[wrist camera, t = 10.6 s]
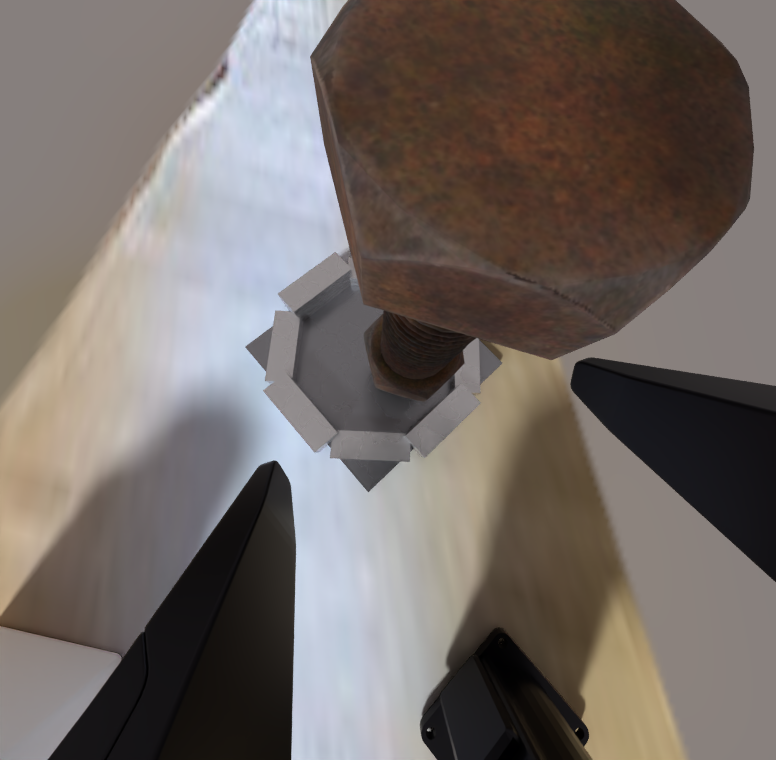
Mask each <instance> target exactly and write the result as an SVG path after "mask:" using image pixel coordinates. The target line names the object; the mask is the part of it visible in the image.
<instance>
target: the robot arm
mask: <svg viewBox="0 0 776 760" xmlns="http://www.w3.org/2000/svg"><path fill="white" fill-rule="evenodd" d="M570 385H571V389H572V391H573V392H574V393H575V394H576V395H577V396H578V397H579V399H580V400H581V401H582V402H583V403H584V404H585V405H586V406H587V407H588V408H589V409H590V411H591V412H592V413H593V414H594V415H595V416H596V417H597V418H598V419H599V420H600V421H601V422H602V424H603V425H604V426H605V427H606V428H607V429H608V430H609V431H610V432H611V433H612V434H613V435H615V436H616V437H617V438H618V439H619V440H620V441H621V442H622V443H623V444H624V445H625V446H627V447H628V448H629V449H630V450H631V451H632V452H633V453H634V454H635V455H636V456H638V457H639V458H640V459H641V460H642V461H643V462H644V463H645V464H646V465H648V466H649V467H650V468H651V469H652V470H653V471H654V472H655V473H656V474H657V475H659V476H660V477H661V478H662V479H663V480H664V481H665V482H666V483H667V484H668V485H669V486H671V487H672V488H673V489H674V490H675V491H676V492H677V493H678V494H679V495H680V496H682V497H683V498H684V499H685V500H686V501H687V502H688V503H689V504H690V505H691V506H693V507H694V508H695V509H696V510H697V511H698V512H699V513H700V514H701V515H702V516H704V517H705V518H706V519H707V520H708V521H709V522H710V523H711V524H712V525H713V526H715V527H716V528H717V529H718V530H719V531H720V532H721V533H722V534H723V535H724V536H725V537H727V538H728V539H729V540H730V541H731V542H732V543H733V544H734V545H736V547H738V548H739V549H740V550H741V551H742V552H743V553H744V554H745V555H746V556H747V557H749V558H750V559H751V560H752V561H753V562H754V563H755V564H756V565H757V566H759V567H760V568H761V569H762V570H763V571H764V572H765V573H766V574H767V575H768V576H769V577H771V578H772V579H773V580H774V581H775V582H776V386H772V385H765V384H758V383H753V382H746V381H740V380H733V379H727V378H720V377H714V376H708V375H701V374H695V373H688V372H682V371H676V370H669V369H662V368H656V367H650V366H644V365H637V364H631V363H624V362H618V361H612V360H605V359H599V358H586V359H583V360H581V361H578V362H577V363H576V364H575V366H574V370H573V374H572V379H571V384H570ZM295 569H296V539H295V527H294V516H293V505H292V494H291V485H290V482H289V479H288V477H287V476H286V474H285V473H284V471H283V469H282V468H281V466H280V464H279V463H278V462H277V461H270V462H267V463H264V464H262V465H260V466H259V467H258V468H257V469H256V471H255V472H254V474H253V475H252V476H251V478H250V479H249V481H248V482H247V483H246V485H245V486H244V488H243V489H242V491H241V492H240V493H239V495H238V496H237V498H236V499H235V500H234V502H233V503H232V505H231V506H230V508H229V509H228V510H227V512H226V513H225V515H224V516H223V517H222V519H221V520H220V522H219V523H218V525H217V526H216V527H215V529H214V530H213V532H212V533H211V534H210V536H209V537H208V539H207V540H206V542H205V543H204V544H203V546H202V547H201V549H200V550H199V551H198V553H197V554H196V556H195V557H194V559H193V560H192V561H191V563H190V564H189V566H188V567H187V568H186V570H185V571H184V573H183V574H182V576H181V577H180V578H179V580H178V581H177V583H176V584H175V585H174V587H173V588H172V590H171V591H170V593H169V594H168V595H167V597H166V598H165V600H164V601H163V602H162V604H161V605H160V607H159V608H158V610H157V611H156V612H155V614H154V615H153V617H152V618H151V619H150V621H149V622H148V624H147V625H146V627H145V632H142V633H141V634H140V635H139V636H138V638H137V639H136V640H135V642H134V643H133V645H132V646H131V647H130V649H129V650H128V652H127V653H126V655H125V656H124V657H123V659H122V660H121V662H120V663H119V664H118V666H117V667H116V669H115V670H114V671H113V673H112V674H111V675H110V677H109V678H108V680H107V681H106V682H105V684H104V685H103V686H102V688H101V689H100V691H99V692H98V693H97V695H96V696H95V697H94V699H93V700H92V702H91V703H90V704H89V706H88V707H87V708H86V710H85V711H84V712H83V714H82V715H81V716H80V718H79V719H78V720H77V722H76V723H75V724H74V726H73V727H72V728H71V729H70V731H69V732H68V733H67V735H66V736H65V737H64V739H63V740H62V741H61V743H60V744H59V745H58V747H57V748H56V749H55V750H54V752H53V753H52V754H51V756H50V757H49V758H48V760H291V744H292V701H293V657H294V613H295ZM501 638H504V641H503V642H502V643H501V644H498V641H499V639H501ZM429 727H433V730H432V731H427V729H428V728H429ZM577 728H578V730H577V731H576V732H575V730H576V729H577ZM420 730H421V736H422V740H423V741H424V743H425V744H426V746H427V747H428V748H429V750H430V751H431V752H432V753H433V755H434V756H435V757H436V759H437V760H593V759H592V758H591V757H590V755H589V754H588V752H587V751H586V749H585V748H584V746H585V745H586V743H587V741H588V739H589V732H588V729H587V727H586V725H585V724H584V723H583V721H582V720H581V719H580V717H579V716H578V715H577V714H576V713H575V712H574V710H573V709H572V708H571V707H570V706H569V705H568V703H567V702H566V701H565V700H564V699H563V698H562V696H561V695H560V694H559V693H558V692H557V691H556V689H555V688H554V687H553V686H552V685H551V684H550V682H549V681H548V680H547V679H546V678H545V677H544V675H543V674H542V673H541V672H540V671H539V670H538V668H537V667H536V666H535V665H534V664H533V663H532V661H531V660H530V659H529V658H528V657H527V656H526V654H525V653H524V652H523V651H522V650H521V649H520V647H519V646H518V645H517V644H516V643H515V642H514V640H513V639H512V638H511V637H510V636H509V635H508V633H507V632H506V631H505V630H504V629H502V628H496V629H494V630H493V631H492V633H491V634H490V635H489V636H488V637H487V639H486V640H485V641H484V642H483V644H482V645H481V646H480V647H479V648H478V650H477V651H476V652H475V653H474V655H472V656H471V657H470V658H469V659H468V660H467V661H466V663H465V664H464V665H463V666H462V668H461V669H460V670H459V671H458V673H457V674H456V675H455V676H454V677H453V679H452V680H451V681H450V682H449V684H448V685H447V686H446V687H445V688H444V690H443V691H442V692H441V695H440V696H439V698H438V699H437V700H436V701H435V702H434V704H433V705H432V706H431V707H430V709H429V710H428V711H427V712H426V714H425V715H424V716H423V717H422V719H421V722H420Z"/></svg>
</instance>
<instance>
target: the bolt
mask: <svg viewBox="0 0 776 760" xmlns="http://www.w3.org/2000/svg"><path fill="white" fill-rule="evenodd" d="M310 58H311V64H312V71H313V77H314V83H315V89H316V96H317V102H318V108H319V115H320V121H321V127H322V134H323V140H324V146H325V150H326V154H327V158H328V162H329V166H330V170H331V174H332V178H333V182H334V186H335V190H336V195H337V199H338V203H339V207H340V211H341V215H342V219H343V223H344V227H345V231H346V235H347V239H348V243H349V248H350V252H351V256H352V260H353V264H354V268H355V272H356V276H357V280H358V284H359V288H360V292H361V297H362V301H363V304H364V305H367V306H371V307H374V308H377V309H381V310H383V314H382V315H381V316H380V317H379V318H378V319H377V320H376V321H374V322H373V323H372V325H371V326H370V327H369V328H368V329H367V330H366V331H365V332H364V343H365V347H366V352H367V356H368V361H369V365H370V369H371V373H372V377H373V381H374V384H375V388H377V389H380V390H383V391H386V392H388V393H392V394H395V395H398V396H401V397H405V398H409V399H413V400H417V401H421V402H424V401H426V400H428V399H429V398H430V397H431V396H432V395H433V394H434V393H435V392H437V391H438V390H439V389H440V388H441V387H442V386H443V385H444V384H445V383H446V382H447V381H448V380H449V379H450V378H451V377H452V376H453V375H454V374H455V373H456V372H457V371H458V370H459V369H460V368H461V367H462V366H463V365H464V363H465V362H464V355H463V350H464V349H465V348H466V347H467V345H468V344H469V343H471V342H472V341H473V340H475V339H476V338H479V339H482V340H485V341H489V342H492V343H495V344H499V345H502V346H506V347H509V348H512V349H516V350H519V351H522V352H526V353H529V354H533V355H536V356H539V357H543V358H546V359H549V360H553V359H555V358H558V357H560V356H563V355H565V354H567V353H570V352H572V351H575V350H577V349H579V348H582V347H584V346H587V345H589V344H592V343H594V342H597V341H599V340H601V339H604V338H607V337H609V336H611V335H614V334H616V333H617V332H618V331H619V330H621V329H622V328H623V327H624V326H625V325H627V324H628V323H629V322H630V321H632V320H633V319H634V318H635V317H637V316H638V315H639V314H640V313H641V312H642V311H644V310H645V309H646V308H647V307H649V306H650V305H651V304H652V303H654V302H655V301H656V300H657V299H658V298H660V297H661V296H662V295H663V294H665V293H666V292H667V291H668V290H669V289H671V288H672V287H673V286H674V285H675V284H676V283H677V282H678V281H679V280H680V279H681V278H682V277H684V276H685V275H686V274H687V273H688V272H689V271H690V270H691V269H692V268H693V267H694V266H695V265H696V264H697V263H699V262H700V261H701V260H702V259H703V258H704V257H705V256H706V255H707V254H708V253H709V252H710V251H711V250H712V249H713V248H714V246H715V245H716V244H717V243H718V242H719V240H721V238H722V237H723V236H724V235H725V234H726V233H727V231H728V230H729V229H730V228H731V227H732V225H733V224H734V223H735V221H736V220H737V219H738V218H739V216H740V215H741V214H742V212H743V211H744V210H745V209H746V206H747V204H748V202H749V199H750V190H751V178H752V166H753V153H754V144H753V134H752V133H753V132H752V121H751V109H750V97H749V87H748V84H747V82H746V80H745V77H744V75H743V73H742V71H741V68H740V66H739V64H738V62H737V60H736V59H735V58H734V56H733V55H732V54H731V53H730V52H729V51H728V50H727V49H726V47H725V46H724V45H723V44H722V43H721V42H720V41H719V40H718V39H717V38H716V37H715V36H714V35H713V34H712V33H710V32H709V31H708V30H707V29H706V28H705V27H704V26H703V25H702V24H701V23H700V22H699V21H697V20H696V19H695V18H694V17H693V16H692V15H691V14H690V13H689V12H688V11H687V10H686V9H684V8H683V7H682V6H681V5H680V4H679V3H678V2H677V1H676V0H348V1H347V2H346V3H345V5H344V6H343V7H342V9H341V10H340V12H339V13H338V15H337V16H336V18H335V19H334V21H333V23H332V24H331V26H330V27H329V29H328V30H327V32H326V33H325V35H324V36H323V38H322V39H321V41H320V42H319V44H318V45H317V47H316V48H315V50H314V51H313V53H312V54H311V56H310Z"/></svg>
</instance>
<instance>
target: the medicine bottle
mask: <svg viewBox="0 0 776 760" xmlns="http://www.w3.org/2000/svg"><path fill="white" fill-rule="evenodd" d="M120 662H121V656H120V655H119V654H118V653H113V652H109V651H105V650H101V649H96V648H92V647H88V646H83V645H79V644H75V643H71V642H66V641H62V640H58V639H53V638H49V637H45V636H41V635H36V634H32V633H28V632H23V631H19V630H15V629H10V628H6V627H2V626H0V760H48V758H49V757H50V756H51V754H52V753H53V752H54V750H55V749H56V748H57V747H58V745H59V744H60V743H61V741H62V740H63V739H64V737H65V736H66V735H67V733H68V732H69V731H70V729H71V728H72V727H73V726H74V724H75V723H76V722H77V720H78V719H79V718H80V716H81V715H82V714H83V712H84V711H85V710H86V708H87V707H88V706H89V704H90V703H91V702H92V700H93V699H94V697H95V696H96V695H97V693H98V692H99V691H100V689H101V688H102V686H103V685H104V684H105V682H106V681H107V680H108V678H109V677H110V675H111V674H112V673H113V671H114V670H115V669H116V667H117V666H118V664H119V663H120Z"/></svg>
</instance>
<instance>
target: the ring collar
mask: <svg viewBox="0 0 776 760" xmlns="http://www.w3.org/2000/svg"><path fill="white" fill-rule="evenodd" d="M278 295H279V297H280V298H281V300H282V301H283V303H284V304H285V306H286V307H287V308H288V309H289V310H290V311H275V317H274V324H273V327H271V328H270V329H269V330H267V331H266V332H265V333H263V334H262V335H261V336H259V337H258V338H257V339H255V340H254V341H252V342H251V343H250V344H248V345H247V346H246V348H247V350H248V351H249V352H250V353H251V354H252V355H253V357H254V358H255V359H256V360H257V361H258V363H259V364H260V365H261V366H262V367H263V368H264V370H265V371H266V377H265V381H266V382H268V383H271V385H270V386H268V387H267V388H266V389H265V390H263V391H264V392H265V394H266V395H267V396H268V397H269V398H270V400H271V401H272V402H273V403H274V404H275V406H276V407H277V408H278V409H279V410H280V412H281V413H282V414H283V415H284V416H285V418H286V419H287V420H288V421H289V422H290V424H291V425H292V426H293V427H294V428H295V430H296V431H297V432H298V433H299V434H300V436H301V437H302V438H303V439H304V440H305V442H306V443H307V444H308V445H309V446H310V447H311V449H312V450H313V451H314V452H320V451H321V450H322V449H324V448H325V447H326V446H327V445H329V446H330V448H331V453H330V458H339V459H341V461H342V462H343V463H344V464H345V465H346V466H347V468H348V469H349V470H350V471H351V472H352V474H353V475H354V476H355V477H356V478H357V479H358V481H359V482H360V483H361V484H362V485H363V487H364V488H365V489H366V490H367V491H368V492H369V491H370V490H371V489H372V488H373V487H374V486H375V485H376V484H377V483H378V482H379V481H380V480H381V479H382V478H384V477H385V476H386V475H387V474H388V473H389V472H390V471H391V470H392V469H393V468H394V467H395V466H396V465H397V464H398V463H399V462H400V461H404V462H410V452H411V451H412V450H413V449H414V450H415V451H416V452H417V453H418V454H419V455H420V456H421V457H424V458H425V457H426V456H427V455H428V454H429V453H430V452H431V451H432V450H433V449H434V448H435V447H436V446H437V445H438V444H440V443H441V442H442V441H443V440H444V439H445V438H446V437H447V436H448V435H449V434H450V433H451V432H452V431H453V430H454V429H455V428H456V427H457V426H458V425H459V424H460V423H461V422H462V421H463V420H464V419H465V418H466V417H467V416H468V415H469V414H470V413H471V412H472V411H473V410H474V409H475V408H476V407H477V406H478V405H479V404H480V403H481V402H480V401H479V400H478V399H477V398H476V397H475V396H474V395H477V394H479V393H480V384H481V383H482V382H483V381H484V380H485V379H486V378H487V377H488V376H489V375H491V374H492V373H493V372H494V371H495V370H496V369H497V368H498V367H499V366H500V365H501V364H502V362H501V361H500V360H499V359H498V358H497V357H496V356H495V355H494V354H493V353H492V352H491V351H490V350H489V349H488V348H487V347H486V346H485V345H484V344H483V343H482V342H481V341H480V340H479V338H476V339H475V340H473V341H472V342H471V343H469V344H468V345H467V347H466V348H465V349H464V350H463V355H464V362H465V363H464V365H463V366H462V367H461V368H460V369H459V370H458V371H457V372H456V373H455V374H454V375H453V376H452V377H451V378H450V379H449V380H448V381H447V382H446V383H445V384H444V385H443V386H442V387H441V388H440V389H439V390H438V391H437V392H435V393H434V394H433V395H432V396H431V397H430V398H429V399H428V400H426V401H424V402H421V401H417V400H413V399H409V398H405V397H401V396H398V395H395V394H392V393H388V392H386V391H383V390H380V389H377V388H375V384H374V381H373V377H372V373H371V369H370V365H369V361H368V356H367V352H366V347H365V343H364V332H365V331H366V330H367V329H368V328H369V327H370V326H371V325H372V323H373V322H374V321H376V320H377V319H378V318H379V317H380V316H381V315H382V314H383V310H381V309H377V308H374V307H371V306H367V305H364V304H363V301H362V297H361V292H360V288H359V284H358V280H357V276H356V272H355V268H354V264H353V260H352V257H348V264H347V263H346V262H345V261H344V260H343V259H342V258H341V257H340V256H339V255H338V254H337V253H336V252H335V253H333V254H332V255H331V256H329V257H328V258H327V259H325V260H324V261H322V262H321V263H320V264H318V265H317V266H315V267H314V268H313V269H311V270H310V271H309V272H307V273H306V274H304V275H303V276H302V277H300V278H299V279H297V280H296V281H295V282H293V283H292V284H291V285H289V286H288V287H286V288H285V289H284V290H282V291H281V292H279V293H278Z"/></svg>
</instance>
